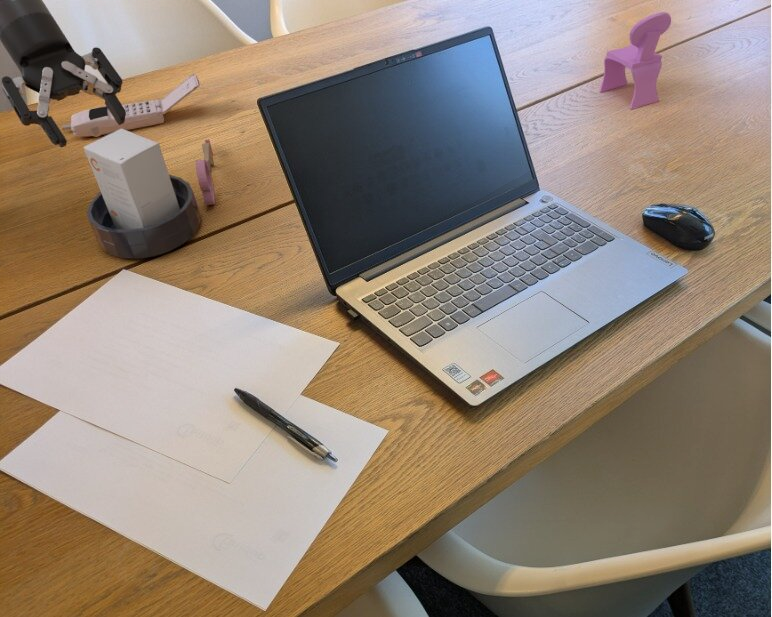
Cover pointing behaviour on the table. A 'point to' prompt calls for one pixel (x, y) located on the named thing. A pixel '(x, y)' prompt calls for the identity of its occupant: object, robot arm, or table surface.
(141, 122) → the mobile phone
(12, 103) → the robot arm
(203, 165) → the decorative key
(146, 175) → the small box
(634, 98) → the toy chair
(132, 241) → the bowl
